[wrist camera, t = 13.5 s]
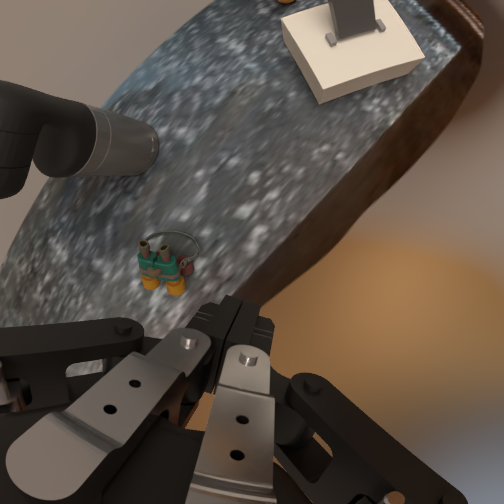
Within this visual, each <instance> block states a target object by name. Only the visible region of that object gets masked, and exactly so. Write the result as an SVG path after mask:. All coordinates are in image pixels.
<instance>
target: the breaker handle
mask: <svg viewBox="0 0 504 504" xmlns="http://www.w3.org/2000/svg"><path fill="white" fill-rule="evenodd" d="M328 3H329V7H330V12H331V16H332V20H333V25H334V30H335V34H336V35H335V38H336V39H337V40H340V39H344V38H347V37H350V36H354V35H357V34H361V33H364V32H368V31H372V30H376V29H377V26H376V19H375V9H374V1H373V0H328Z"/></svg>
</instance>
